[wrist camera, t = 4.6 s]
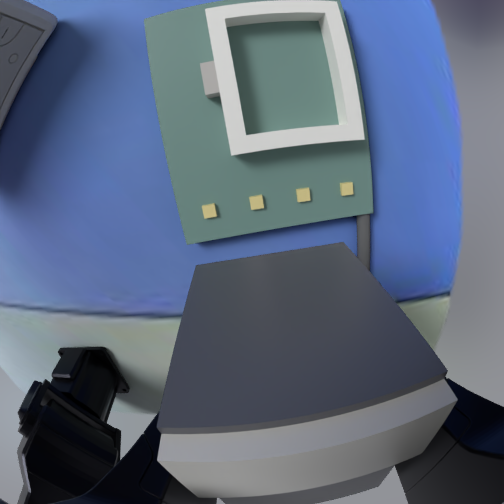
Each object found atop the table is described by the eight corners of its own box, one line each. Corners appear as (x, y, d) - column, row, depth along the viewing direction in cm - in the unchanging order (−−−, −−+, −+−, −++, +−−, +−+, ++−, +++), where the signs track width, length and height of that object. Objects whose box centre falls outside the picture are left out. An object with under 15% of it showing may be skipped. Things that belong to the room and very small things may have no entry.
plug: (339, 374, 11) (382, 498, 5) (233, 391, 11) (235, 525, 5) (343, 242, 8) (462, 391, 3) (196, 265, 8) (151, 454, 3)
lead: (364, 308, 23) (369, 314, 22) (354, 310, 23) (358, 317, 22) (363, 168, 18) (369, 170, 17) (351, 169, 18) (357, 171, 17)
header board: (366, 208, 20) (382, 219, 17) (189, 238, 20) (183, 253, 17) (333, 3, 13) (346, -12, 11) (148, 25, 13) (137, 11, 11)
